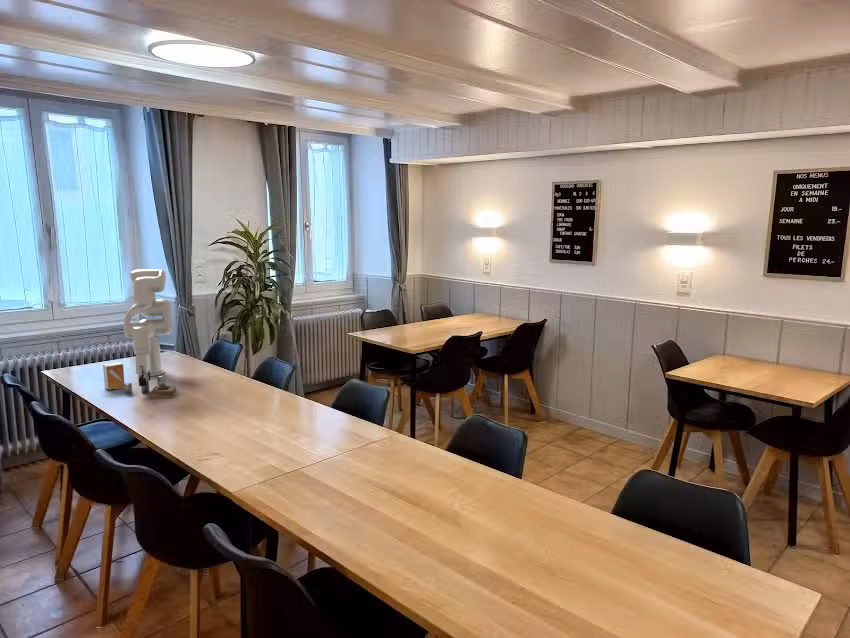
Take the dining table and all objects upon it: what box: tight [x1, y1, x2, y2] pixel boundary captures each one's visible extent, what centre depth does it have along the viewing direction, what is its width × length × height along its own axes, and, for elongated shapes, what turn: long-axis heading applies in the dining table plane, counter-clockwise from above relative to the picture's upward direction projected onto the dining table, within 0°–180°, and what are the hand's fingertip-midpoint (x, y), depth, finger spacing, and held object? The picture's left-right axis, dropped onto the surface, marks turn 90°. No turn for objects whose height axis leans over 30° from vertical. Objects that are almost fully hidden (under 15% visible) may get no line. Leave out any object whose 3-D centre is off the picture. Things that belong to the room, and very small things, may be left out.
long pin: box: [140, 372, 150, 394], centre depth 295 cm, size 4×4×12 cm
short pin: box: [123, 382, 133, 395], centre depth 293 cm, size 4×4×5 cm
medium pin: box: [157, 375, 167, 386], centre depth 297 cm, size 4×4×8 cm
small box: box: [102, 361, 126, 391], centre depth 301 cm, size 8×6×13 cm
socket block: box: [150, 384, 177, 400], centre depth 291 cm, size 10×10×4 cm
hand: (144, 383), depth 295 cm, fingers open, 9 cm apart
